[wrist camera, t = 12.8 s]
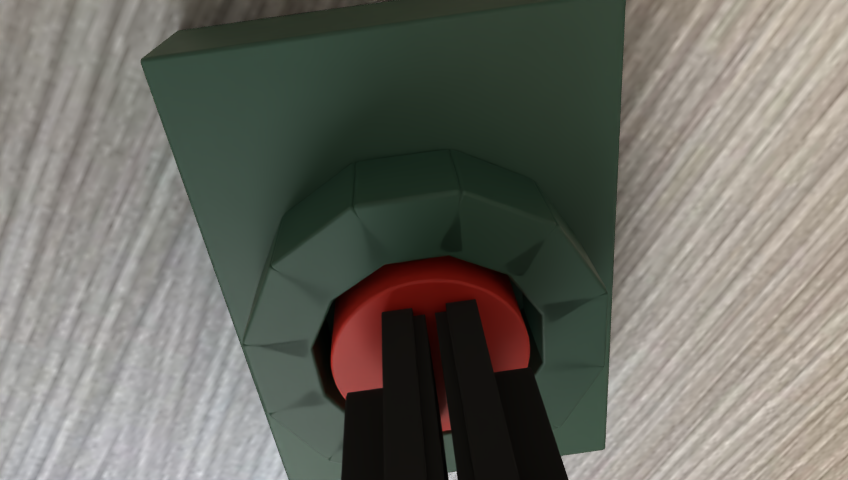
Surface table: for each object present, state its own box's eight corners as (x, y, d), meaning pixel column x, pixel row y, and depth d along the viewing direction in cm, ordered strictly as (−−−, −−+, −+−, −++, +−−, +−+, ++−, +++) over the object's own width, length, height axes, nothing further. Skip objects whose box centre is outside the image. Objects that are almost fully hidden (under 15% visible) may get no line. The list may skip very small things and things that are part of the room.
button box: (175, 30, 12) (93, 92, 8) (586, -28, 12) (675, 10, 8) (301, 428, 17) (283, 563, 14) (580, 388, 17) (632, 513, 14)
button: (318, 242, 12) (310, 295, 10) (507, 215, 12) (528, 266, 10) (352, 382, 13) (350, 445, 12) (515, 359, 13) (533, 420, 12)
